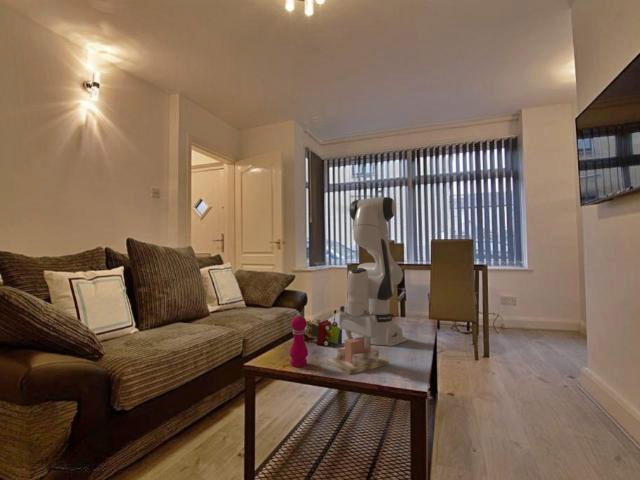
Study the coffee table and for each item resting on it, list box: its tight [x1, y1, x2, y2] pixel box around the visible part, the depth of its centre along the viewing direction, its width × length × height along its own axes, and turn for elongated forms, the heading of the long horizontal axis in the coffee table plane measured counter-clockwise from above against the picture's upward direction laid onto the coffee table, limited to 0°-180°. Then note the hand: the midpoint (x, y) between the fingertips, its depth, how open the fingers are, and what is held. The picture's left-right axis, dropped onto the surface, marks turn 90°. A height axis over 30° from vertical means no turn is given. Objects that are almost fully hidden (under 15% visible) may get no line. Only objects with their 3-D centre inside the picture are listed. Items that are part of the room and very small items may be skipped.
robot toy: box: [304, 309, 343, 347], centre depth 159 cm, size 17×9×20 cm
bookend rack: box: [326, 346, 390, 375], centre depth 129 cm, size 20×14×6 cm
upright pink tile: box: [344, 336, 372, 364], centre depth 129 cm, size 10×4×8 cm, turn 123°
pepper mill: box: [289, 312, 309, 368], centre depth 128 cm, size 7×7×20 cm
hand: (357, 344), depth 129 cm, fingers open, 8 cm apart
